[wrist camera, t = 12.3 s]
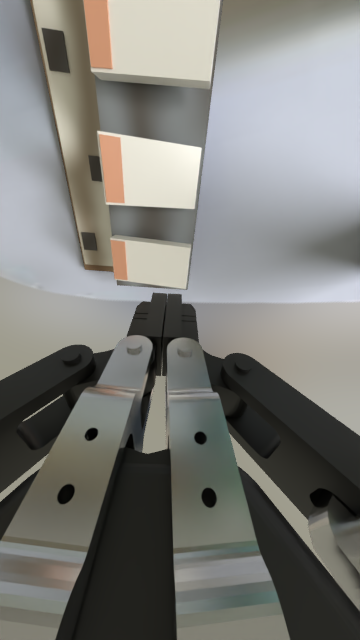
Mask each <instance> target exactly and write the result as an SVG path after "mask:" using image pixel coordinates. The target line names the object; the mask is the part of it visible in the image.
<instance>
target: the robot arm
mask: <svg viewBox="0 0 360 640" xmlns="http://www.w3.org/2000/svg"><path fill="white" fill-rule="evenodd" d="M162 360H163V367H162ZM161 369H162V375H163V376H166V390H165V399H166V400H165V401H166V450H162V451H158V452H155V453H150V454H145V453H142V450H143V439H144V433H145V428H146V422H147V419H148V414H149V410H150V405H151V400H152V395H153V387H154V385H155V378H156V376H161ZM62 394H63V396H62V397H60V398H59V399H57V400H56V401H54V402H53V403H51V404H50V405H48V406H47V407H45V408H44V409H43V410H41V411H40V412H38V413H37V414H35V415H34V416H32V417H31V418H29V419H28V420H26V421H23V420H24V419H26V418H27V417H29V416H30V415H32V414H33V413H35V412H36V411H38V410H39V409H40V408H42V407H44V406H45V405H47V404H48V403H50V402H51V401H53V400H54V399H56V398H57V397H59V396H60V395H62ZM22 421H23V422H22ZM229 433H230V434H231V435H232V436H233V438H234V439H235V440H236V441H237V442H238V443H239V444H240V445H241V446H242V448H243V449H244V450H245V451H246V452H247V453H248V454H249V455H250V456H251V457H252V458H253V460H254V461H255V462H256V463H257V464H258V465H259V466H260V467H261V468H262V470H263V471H264V472H265V473H266V474H267V475H268V476H269V477H270V478H271V480H272V481H273V482H274V483H275V484H276V485H277V486H278V487H279V488H280V489H281V491H282V492H283V493H284V494H285V495H286V496H287V497H288V498H289V499H290V501H291V502H292V503H293V504H294V505H295V506H296V507H297V508H298V509H299V511H300V512H301V513H302V514H303V515H304V516H305V517H306V518H307V519H308V527H309V533H310V537H311V540H312V545H313V548H314V549H315V551H316V553H317V554H318V556H319V557H320V558H321V560H322V561H323V563H324V564H325V565H326V567H327V568H328V569H329V571H330V572H331V574H332V576H333V577H334V578H333V577H332V576H331V575H330V573H329V572H328V571H327V570H326V569H325V567H324V566H323V565H322V564H321V562H320V561H319V560H318V559H317V557H316V556H315V555H314V554H313V552H312V551H311V550H310V549H309V547H308V546H307V545H306V544H305V542H304V541H303V540H302V539H301V538H300V536H299V535H298V534H297V532H296V531H295V530H294V529H293V527H292V526H291V525H290V524H289V522H288V521H287V520H286V519H285V518H284V516H283V515H282V514H281V513H280V511H279V510H278V509H277V508H276V506H275V505H274V504H273V503H272V501H271V500H270V499H269V498H268V496H267V495H266V494H265V493H264V491H263V490H262V489H261V488H260V486H259V485H258V484H257V483H256V482H255V481H254V480H253V479H252V478H251V477H250V476H249V475H248V474H247V473H246V472H245V471H243V470H242V469H241V468H240V467H238V466H237V462H236V458H235V455H234V450H233V446H232V443H231V439H230V435H229ZM48 453H49V454H48ZM47 454H48V456H47V458H46V459H45V461H44V463H43V465H42V467H41V468H40V469H39V470H38V471H36V472H35V473H34V474H32V475H31V476H30V477H28V478H27V479H26V480H25V481H24V482H22V483H21V484H20V485H19V486H18V487H17V488H16V489H15V490H13V491H12V492H11V493H10V494H9V495H8V496H7V497H5V498H4V499H3V500H2V501H1V502H0V640H360V436H359V435H358V434H356V433H355V432H353V431H352V430H351V429H349V428H348V427H346V426H345V425H344V424H342V423H341V422H340V421H338V420H337V419H335V418H334V417H333V416H331V415H330V414H329V413H327V412H326V411H325V410H323V409H322V408H321V407H319V406H318V405H316V404H315V403H314V402H312V401H311V400H309V399H308V398H307V397H305V396H304V395H303V394H301V393H300V392H299V391H297V390H296V389H294V388H293V387H292V386H290V385H289V384H288V383H286V382H285V381H283V380H282V379H281V378H279V377H278V376H277V375H275V374H274V373H272V372H271V371H270V370H268V369H267V368H266V367H264V366H263V365H261V364H260V363H259V362H257V361H256V360H255V359H253V358H252V357H250V356H248V355H245V354H241V353H233V354H230V355H228V356H226V357H225V359H221V358H218V357H215V356H212V355H210V354H208V353H206V352H205V351H204V350H203V349H202V347H201V345H200V344H199V339H198V330H197V322H196V311H195V309H194V308H193V306H192V305H191V304H182V296H181V294H168V298H167V294H165V293H153V295H152V300H151V302H144V301H143V302H142V303H140V304H139V305H138V306H137V308H136V311H135V314H134V316H133V319H132V322H131V326H130V328H129V331H128V334H127V337H125V338H123V339H122V340H120V341H119V342H118V344H117V345H116V347H115V349H113V350H110V351H105V352H100V353H94V354H93V351H92V350H91V349H90V348H89V347H87V346H85V345H71V346H68V347H65V348H63V349H61V350H59V351H57V352H55V353H53V354H51V355H49V356H47V357H45V358H43V359H41V360H40V361H38V362H36V363H34V364H32V365H30V366H28V367H26V368H24V369H22V370H20V371H18V372H16V373H14V374H12V375H10V376H8V377H6V378H5V379H3V380H1V381H0V493H1V492H2V491H3V490H4V489H6V488H7V487H8V486H9V485H11V484H12V483H13V482H14V481H15V480H17V479H18V478H19V477H20V476H21V475H23V474H24V473H25V472H26V471H28V470H29V469H30V468H31V467H32V466H34V465H35V464H36V463H37V462H39V461H40V460H41V459H42V458H43V457H44V456H46V455H47ZM334 579H335V580H334Z"/></svg>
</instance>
